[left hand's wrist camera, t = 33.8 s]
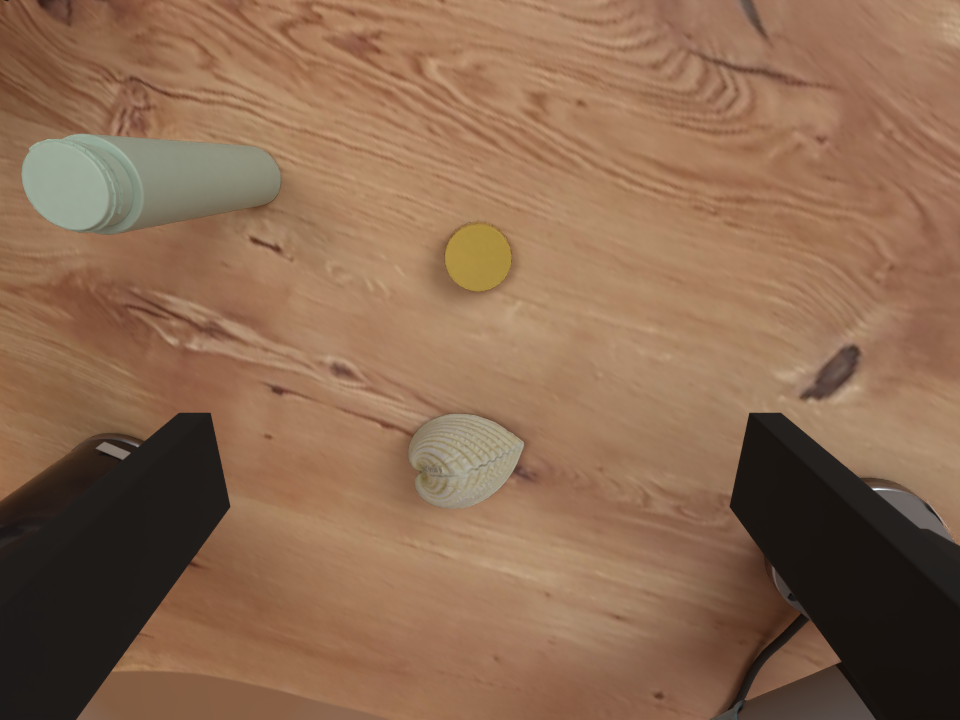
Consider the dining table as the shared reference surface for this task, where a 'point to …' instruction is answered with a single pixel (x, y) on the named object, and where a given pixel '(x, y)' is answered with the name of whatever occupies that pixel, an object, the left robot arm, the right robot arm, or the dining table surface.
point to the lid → (478, 256)
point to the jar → (142, 181)
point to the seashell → (462, 459)
